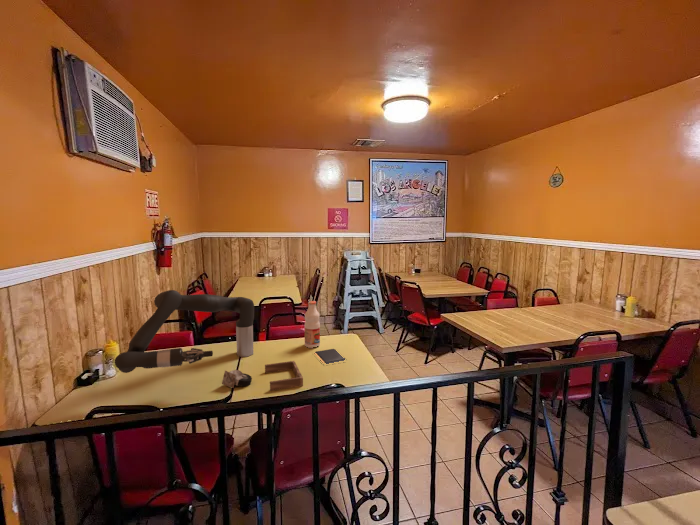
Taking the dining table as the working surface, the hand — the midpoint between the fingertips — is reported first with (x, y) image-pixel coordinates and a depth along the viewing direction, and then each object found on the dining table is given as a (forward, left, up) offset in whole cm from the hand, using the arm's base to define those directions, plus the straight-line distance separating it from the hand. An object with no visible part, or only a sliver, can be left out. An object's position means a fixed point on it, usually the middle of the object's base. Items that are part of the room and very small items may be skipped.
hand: (212, 353), depth 156 cm
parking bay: (0, +31, -17) cm, 36 cm away
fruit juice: (-38, +56, -18) cm, 70 cm away
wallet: (-18, +61, -18) cm, 66 cm away
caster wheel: (-2, +11, -18) cm, 21 cm away
